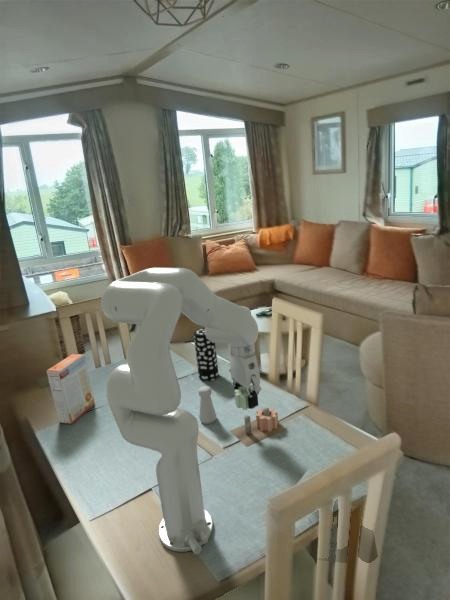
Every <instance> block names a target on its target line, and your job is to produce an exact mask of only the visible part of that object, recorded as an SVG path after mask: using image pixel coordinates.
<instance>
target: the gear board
mask: <svg viewBox="0 0 450 600" xmlns="http://www.w3.org/2000/svg"><path fill="white" fill-rule="evenodd" d="M263 408H264V409H263V411H264V416H270V415H269V409H270V407H263ZM243 419H244V424H242V425H240V426H237V427H236V428H234V429H231V430H229V432H230V433H231V434H232V435H234V436H235V438H236V439H238V440H239V441H240V442H241V443H242V444H244V446H246V447H249V446H251V445H255V444H257V443H258V442H261V441H263V440H265V439H267V438H270V437H272V436H274V435H276V434H278V433H281V432H282V431H285V430H287V427H286V426H284V425H283V424H281V422H279V421H278V425H277V426H278V428H277V429H272V431H270V432H268V430H264V431H261V430H260V428H257V425H256V419H255V420H252V421H251V416H250V415H248V414H247V415H245V416H244V417H243Z"/></svg>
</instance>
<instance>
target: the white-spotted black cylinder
mask: <svg viewBox="0 0 450 600" xmlns="http://www.w3.org/2000/svg"><path fill="white" fill-rule="evenodd" d="M192 333H193V342H194V349H195V357H196V365H197V367H196V368H197V375H198V380H200V381H202V382H211V381H215V380H217V379H218V378H219V376H220V375H219V366H218V364H219V363H218V356H217V348H216V347H217V346H216V343H214V342H211V341H210V340H208V338H207V337H206V335H205V327H202V328H197V329H195V330H194V331H193V332H192Z"/></svg>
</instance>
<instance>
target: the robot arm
mask: <svg viewBox="0 0 450 600" xmlns="http://www.w3.org/2000/svg"><path fill="white" fill-rule="evenodd" d="M100 300H101V301H100V305H101V309H102V312H103V314H104V315H105V316H106V318H108V319H109V320H110V321H112V322H115V323H120V324H130V325H138V328H137V330H136V332H135V333H134V335H133V336H132V338H131V339H130V342H129V343H128V346H127V349H126V353H125V356H126V357H125V358H126V363H123V364H120V365H118V366H116V367H115V368H114V369H113V370H112V371H111V373H110V374H109V376H108V378H107V382H106V389H105V391H106V392H105V393H106V399H107V403H108V406H109V409H110V411H111V413H112V416H113V418H114V421H115V422H116V426H117V428H118V430H119V433H120V435H121V436H122V438H123V440H125V442H127V443H129V444H130V445H134V446H137V447H139V448H143V449H149V450H152V451H156V452H157V453H160V454H161V457H160V458H159V459H158V461H157V463H156V466H155V475H156V481H157V487H158V494H159V498H160V499H159V501H160V505H161V510H162V517H163V518H162V520H161V522H160V524H159V527H158V536H159V539H160V542H161V543H162V545H163V546H164V547H166V548H167V549H169V550H170V551H174V552H180V553H182V552H183V553H184V552H188V551H192V553H193V554H194V555H198V554H200V553H201V551H203V550H202V545H204V544H207V543H208V541H209V538H210V536H211V535H212V532H213V530H214V529H213V527H214V525H213V517H212V516H211V513H210V512H209V511H208V510H207V509H206V508H205V505H204V504H205V503H204V496H203V488H202V483H201V474H200V467H199V457H198V440H199V423H198V420H197V418H196V416H195V415H194V414H193V413H191V411H188V410H185V409H184V408H180V407H179V406H180V403H181V399H182V393H181V392H182V391H181V388H180V383H179V379H178V376H177V372H176V369H175V366H174V362H173V359H172V354H171V347H170V346H171V340H172V339H173V338H172V337H173V334H174V333H175V329H176V327H177V324H178V321H179V319H180V317H181V313H182V314H183V315H185V316H186V317H187V318H188V320H190V321H191V322H193V323H194V324H196V325H198V326H201V327H203V328H205V335H206V337H207V338H208V340H210V341H211V342H214V343H215V344H223V345H227V347H228V357H229V369H228V371H229V374H230V376H231V380H232V385H233V386H234V387H233V388H234V389H233V390H234V391H235V389H236V390H238V387H240V386H242V387H245V388H246V389H247V392H248V395H249V396H248V407H249V409H251V408H253V409H255V408H256V407H258V406H259V394H260V392H261V390H262V387H261V375H260V369H259V363H258V360H257V359H258V358H257V356H256V353H255V352H256V351H255V343H256V341H257V340H258V336H259V326H258V323H257V320H256V319H255V317H254V316H253V315H252V311H251V309H250V308H249V307H248V306H244V305H239V304H237V303H234V302H232V301H230V300H228V299H226V298H223V297H221V296H218V295H216V294H215V292H214V291H213V290H211V288H209V286H208V285H207V284H206V283H205V282H204V281H203V280H202V279H201V277H200V276H198V275H197V273H195V272H194V271H193V270H192V269H188V268H185V267H151V268H145V269H143V270H140V271H138V272H135V273H131V274H130V275H127V276H125V277H122V278H119V279H116V280H114V281H112V282H111V283H109V284H108V285H107V286H106V288H105V289H104V291H103V292H102V294H101V298H100ZM249 385H250V386H249ZM252 387H253V389H254V391H252V392H251V390H250V388H252ZM234 391H233V392H234ZM254 407H255V408H254ZM251 410H252V409H251Z"/></svg>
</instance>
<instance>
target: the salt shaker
mask: <svg viewBox="0 0 450 600" xmlns="http://www.w3.org/2000/svg"><path fill="white" fill-rule="evenodd" d="M197 392H198V395H199V397H200V400H199V413H198V419H199V421H200V422H201V423H203V424H205V425H210V424H212V423H214V422H215V421H216V419H217V413H216V410H215V407H214V404H213V400H212V398H211V396H212V388H211V387H210V386H207V385H204V386H201V387H200V388H198V391H197Z"/></svg>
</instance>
